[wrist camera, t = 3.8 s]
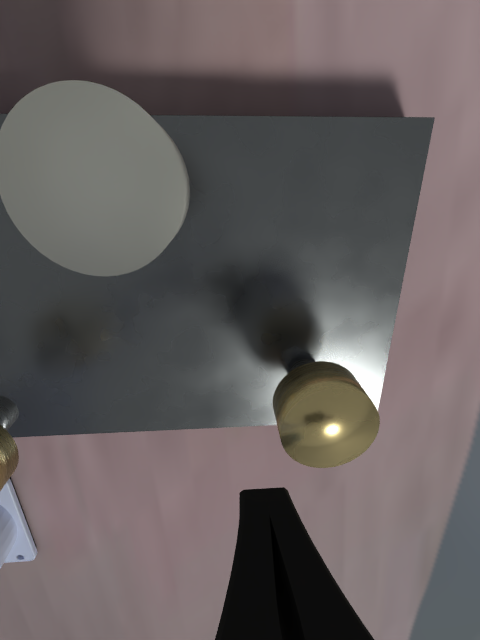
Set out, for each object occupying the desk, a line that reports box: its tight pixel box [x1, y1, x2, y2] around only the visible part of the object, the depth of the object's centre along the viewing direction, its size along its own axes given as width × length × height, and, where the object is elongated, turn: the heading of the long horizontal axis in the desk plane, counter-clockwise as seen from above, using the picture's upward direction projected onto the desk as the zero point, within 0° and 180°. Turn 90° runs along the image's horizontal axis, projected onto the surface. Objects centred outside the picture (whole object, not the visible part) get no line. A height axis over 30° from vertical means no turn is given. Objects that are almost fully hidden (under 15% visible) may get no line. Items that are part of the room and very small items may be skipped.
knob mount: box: [0, 114, 434, 437], centre depth 16 cm, size 23×15×2 cm, turn 90°
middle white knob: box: [0, 80, 190, 276], centre depth 9 cm, size 4×4×4 cm
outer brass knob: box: [273, 359, 380, 468], centre depth 15 cm, size 4×4×4 cm
